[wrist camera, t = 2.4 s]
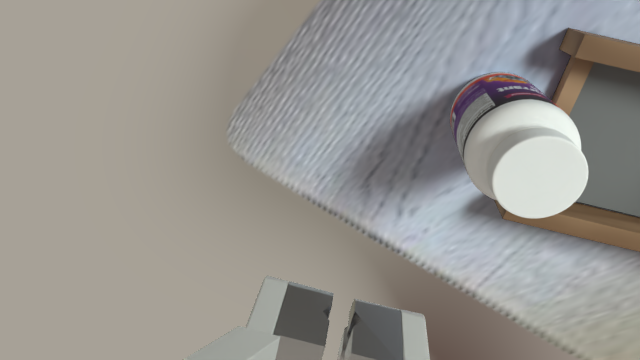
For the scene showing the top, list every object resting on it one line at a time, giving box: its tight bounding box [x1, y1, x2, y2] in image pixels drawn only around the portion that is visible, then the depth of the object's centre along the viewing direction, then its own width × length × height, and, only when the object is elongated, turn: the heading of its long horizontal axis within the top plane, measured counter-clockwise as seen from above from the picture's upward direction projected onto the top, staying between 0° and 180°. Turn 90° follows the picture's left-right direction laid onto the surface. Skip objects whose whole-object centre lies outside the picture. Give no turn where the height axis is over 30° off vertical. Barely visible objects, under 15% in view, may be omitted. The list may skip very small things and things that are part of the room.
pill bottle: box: [450, 72, 588, 218], centre depth 24 cm, size 5×5×10 cm
